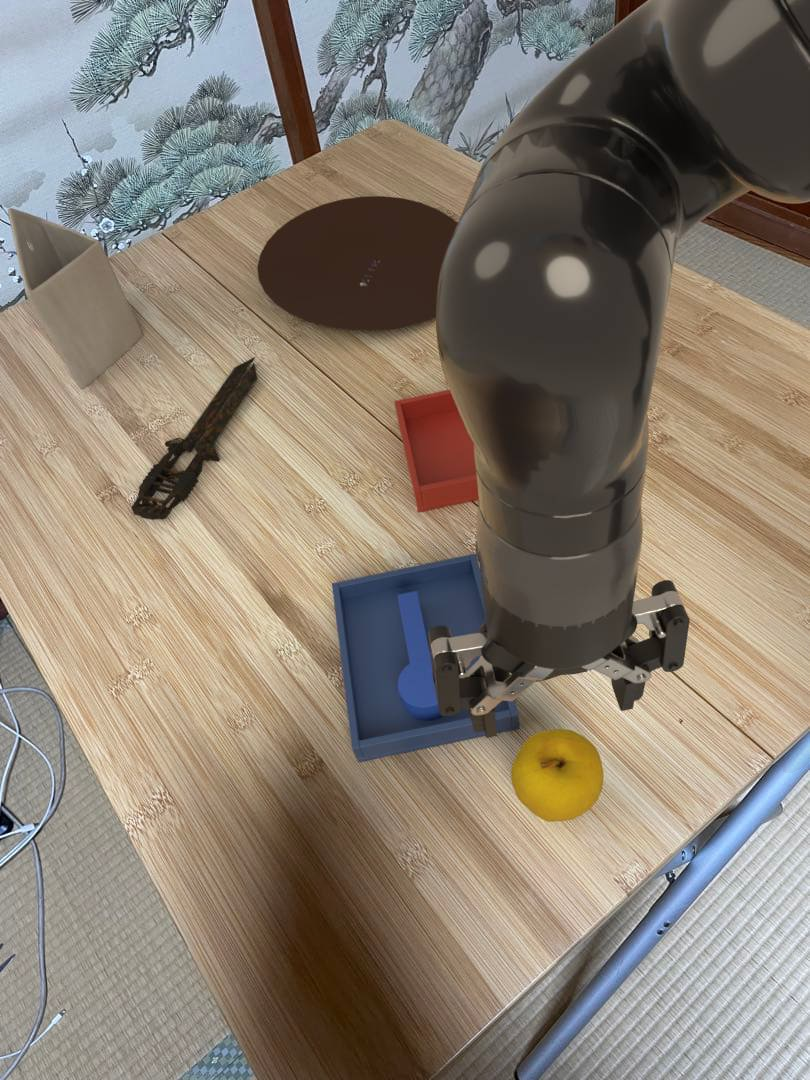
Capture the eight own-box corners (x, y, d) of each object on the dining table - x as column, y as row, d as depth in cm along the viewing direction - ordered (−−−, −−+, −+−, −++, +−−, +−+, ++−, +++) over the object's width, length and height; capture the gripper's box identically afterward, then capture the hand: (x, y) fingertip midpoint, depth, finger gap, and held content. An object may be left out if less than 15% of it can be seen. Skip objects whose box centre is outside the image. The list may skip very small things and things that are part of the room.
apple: (503, 824, 62) (498, 782, 56) (526, 746, 66) (524, 699, 59) (589, 850, 60) (594, 810, 54) (608, 769, 64) (614, 723, 57)
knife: (246, 359, 101) (243, 350, 100) (291, 369, 98) (288, 360, 97) (119, 510, 88) (114, 502, 87) (167, 526, 85) (163, 517, 84)
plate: (442, 354, 96) (439, 328, 93) (229, 332, 105) (220, 307, 102) (502, 219, 112) (501, 193, 109) (312, 209, 120) (307, 184, 117)
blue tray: (477, 570, 77) (475, 553, 75) (519, 729, 67) (518, 714, 65) (337, 599, 77) (331, 583, 75) (358, 762, 67) (352, 749, 65)
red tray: (535, 393, 90) (535, 371, 88) (569, 480, 82) (570, 459, 79) (398, 422, 90) (394, 400, 88) (418, 512, 82) (414, 491, 80)
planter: (143, 375, 102) (72, 231, 86) (79, 390, 101) (-3, 249, 86) (144, 298, 112) (81, 158, 97) (86, 311, 112) (14, 173, 97)
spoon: (386, 612, 74) (382, 597, 73) (434, 602, 74) (431, 587, 73) (406, 725, 67) (402, 712, 66) (459, 714, 67) (456, 700, 66)
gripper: (424, 652, 38) (455, 789, 50) (735, 589, 37) (688, 742, 50) (400, 526, 42) (434, 681, 55) (676, 470, 42) (646, 638, 55)
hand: (555, 710), depth 52 cm, fingers open, 8 cm apart
